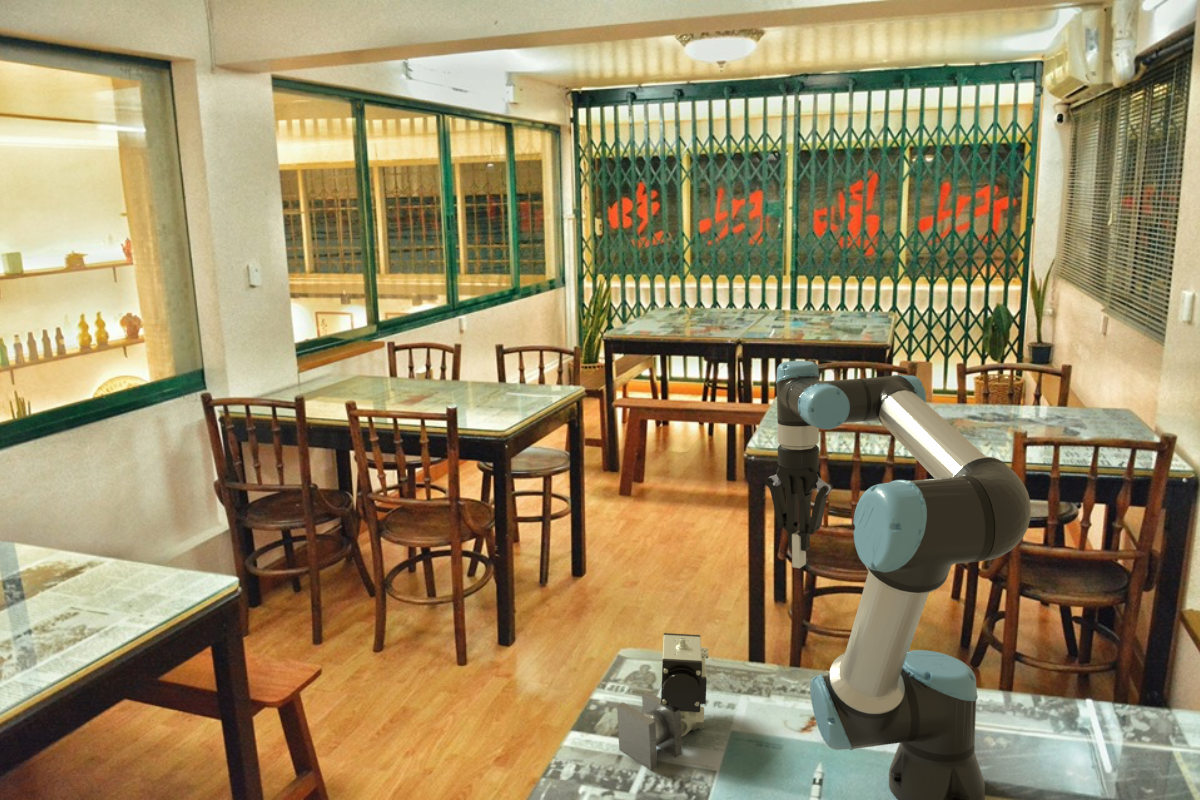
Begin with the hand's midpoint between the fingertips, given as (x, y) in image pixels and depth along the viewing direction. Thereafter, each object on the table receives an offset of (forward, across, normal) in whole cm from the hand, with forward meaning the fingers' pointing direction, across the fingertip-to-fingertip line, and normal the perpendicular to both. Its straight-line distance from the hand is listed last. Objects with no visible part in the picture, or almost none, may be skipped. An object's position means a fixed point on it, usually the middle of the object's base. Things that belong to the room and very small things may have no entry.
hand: (799, 565), depth 176 cm
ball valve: (+30, +16, +18) cm, 39 cm away
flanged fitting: (+31, +16, +28) cm, 44 cm away
